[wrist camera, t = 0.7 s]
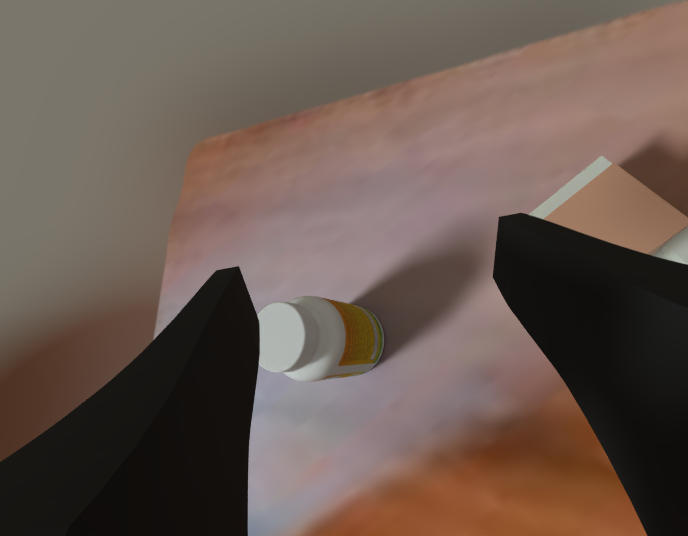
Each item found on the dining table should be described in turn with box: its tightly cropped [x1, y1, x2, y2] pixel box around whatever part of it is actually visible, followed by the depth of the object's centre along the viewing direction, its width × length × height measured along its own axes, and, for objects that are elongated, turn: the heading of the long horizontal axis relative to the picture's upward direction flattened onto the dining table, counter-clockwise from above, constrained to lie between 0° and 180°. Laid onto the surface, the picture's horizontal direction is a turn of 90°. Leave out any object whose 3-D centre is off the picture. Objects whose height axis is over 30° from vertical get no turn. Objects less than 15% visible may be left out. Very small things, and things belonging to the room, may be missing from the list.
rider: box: [544, 163, 688, 255], centre depth 19 cm, size 4×5×4 cm
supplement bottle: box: [257, 296, 384, 382], centre depth 25 cm, size 5×5×10 cm
